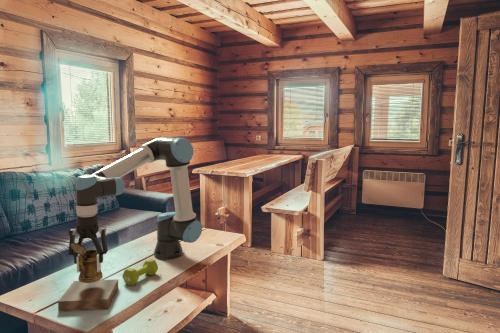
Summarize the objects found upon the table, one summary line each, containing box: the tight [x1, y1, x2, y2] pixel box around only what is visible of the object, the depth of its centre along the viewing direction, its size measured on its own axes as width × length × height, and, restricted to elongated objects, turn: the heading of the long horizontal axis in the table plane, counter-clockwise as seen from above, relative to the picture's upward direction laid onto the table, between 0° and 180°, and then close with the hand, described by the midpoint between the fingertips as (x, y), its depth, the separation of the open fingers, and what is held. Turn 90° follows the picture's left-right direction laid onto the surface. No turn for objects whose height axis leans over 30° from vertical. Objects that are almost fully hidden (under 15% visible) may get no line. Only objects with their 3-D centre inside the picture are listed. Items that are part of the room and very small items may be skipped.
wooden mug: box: [71, 241, 104, 283], centre depth 148 cm, size 9×14×18 cm, turn 165°
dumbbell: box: [122, 258, 159, 287], centre depth 170 cm, size 16×8×7 cm, turn 152°
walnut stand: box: [57, 279, 119, 313], centre depth 150 cm, size 18×18×4 cm
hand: (89, 270), depth 149 cm, fingers closed on wooden mug, 7 cm apart
